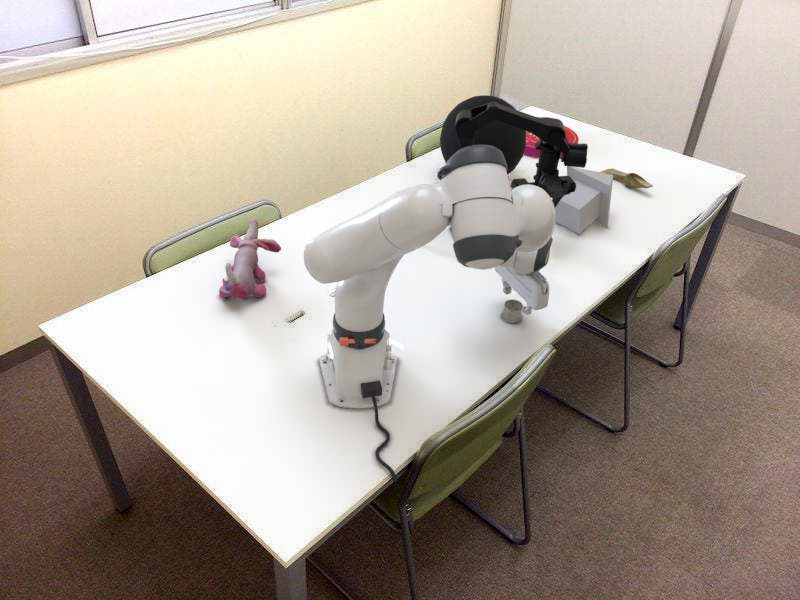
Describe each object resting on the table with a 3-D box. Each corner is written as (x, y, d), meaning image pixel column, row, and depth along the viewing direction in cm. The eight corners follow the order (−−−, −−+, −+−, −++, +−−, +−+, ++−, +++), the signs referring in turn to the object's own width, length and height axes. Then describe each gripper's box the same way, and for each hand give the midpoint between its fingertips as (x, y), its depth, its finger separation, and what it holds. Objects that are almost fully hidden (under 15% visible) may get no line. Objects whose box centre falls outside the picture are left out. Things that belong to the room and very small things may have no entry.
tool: (597, 174, 249) (599, 163, 246) (610, 171, 251) (612, 160, 248) (638, 197, 232) (641, 185, 229) (652, 193, 234) (655, 182, 231)
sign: (543, 165, 250) (591, 146, 266) (545, 156, 248) (593, 138, 264) (487, 137, 268) (535, 121, 284) (488, 129, 266) (537, 114, 282)
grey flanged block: (632, 205, 220) (636, 162, 206) (586, 246, 212) (587, 205, 199) (592, 185, 229) (593, 144, 216) (546, 224, 222) (544, 183, 209)
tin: (516, 310, 178) (518, 298, 176) (523, 322, 175) (525, 309, 172) (499, 312, 177) (501, 300, 175) (506, 324, 174) (508, 311, 171)
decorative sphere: (427, 189, 230) (433, 106, 212) (447, 155, 253) (455, 77, 235) (511, 205, 224) (526, 121, 206) (524, 168, 247) (539, 90, 229)
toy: (299, 270, 187) (288, 223, 179) (243, 315, 171) (228, 266, 163) (250, 258, 196) (238, 213, 188) (193, 300, 180) (176, 253, 172)
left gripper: (559, 278, 158) (549, 323, 166) (513, 236, 172) (506, 279, 180) (538, 284, 155) (528, 329, 164) (492, 241, 170) (486, 284, 178)
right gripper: (528, 178, 183) (519, 226, 193) (589, 174, 187) (577, 221, 196) (514, 160, 192) (506, 207, 201) (573, 157, 195) (562, 203, 205)
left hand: (516, 302), depth 172 cm, fingers open, 8 cm apart
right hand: (538, 210), depth 201 cm, fingers open, 9 cm apart
